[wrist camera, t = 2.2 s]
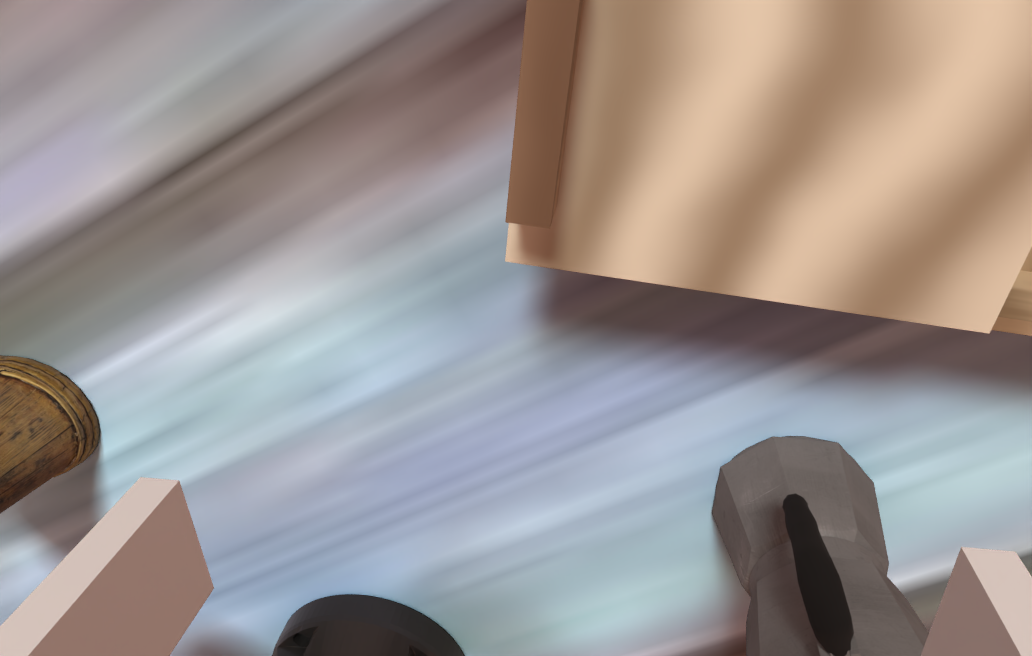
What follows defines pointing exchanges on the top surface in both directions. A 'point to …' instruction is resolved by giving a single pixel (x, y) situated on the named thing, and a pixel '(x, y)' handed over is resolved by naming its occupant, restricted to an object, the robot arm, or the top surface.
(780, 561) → the coffeepot
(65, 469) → the wooden mug
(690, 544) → the top surface
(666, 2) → the lid
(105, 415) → the top surface
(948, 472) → the top surface
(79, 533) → the top surface
